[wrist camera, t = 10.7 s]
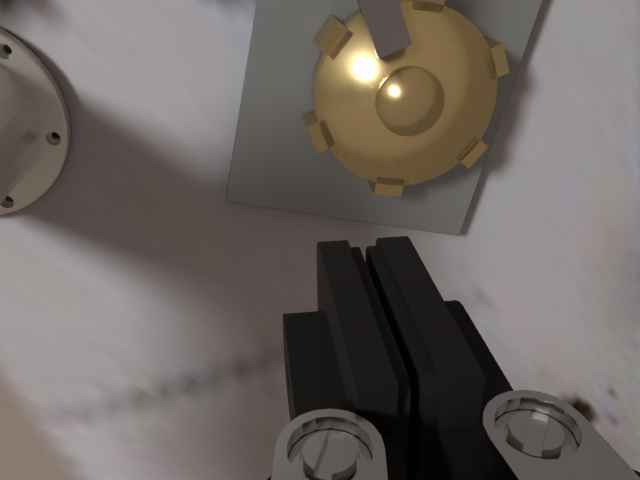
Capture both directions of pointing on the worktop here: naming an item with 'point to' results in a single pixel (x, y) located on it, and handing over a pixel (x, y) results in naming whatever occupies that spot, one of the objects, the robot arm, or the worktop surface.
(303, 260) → the worktop surface
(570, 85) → the worktop surface
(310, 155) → the base plate
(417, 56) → the gold domed lever dial
